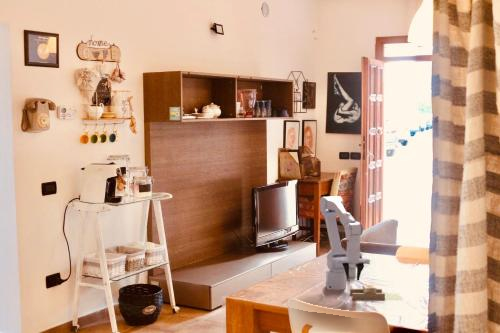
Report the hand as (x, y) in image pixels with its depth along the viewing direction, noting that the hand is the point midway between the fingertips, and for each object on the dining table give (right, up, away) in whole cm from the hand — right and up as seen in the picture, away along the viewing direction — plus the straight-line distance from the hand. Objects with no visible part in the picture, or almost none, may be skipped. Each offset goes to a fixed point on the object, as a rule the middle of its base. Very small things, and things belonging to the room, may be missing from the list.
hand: (352, 279), depth 271 cm
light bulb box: (+2, -5, +39) cm, 39 cm away
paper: (+10, -3, +69) cm, 70 cm away
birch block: (+7, -8, +1) cm, 11 cm away
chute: (+10, -8, +1) cm, 13 cm away
